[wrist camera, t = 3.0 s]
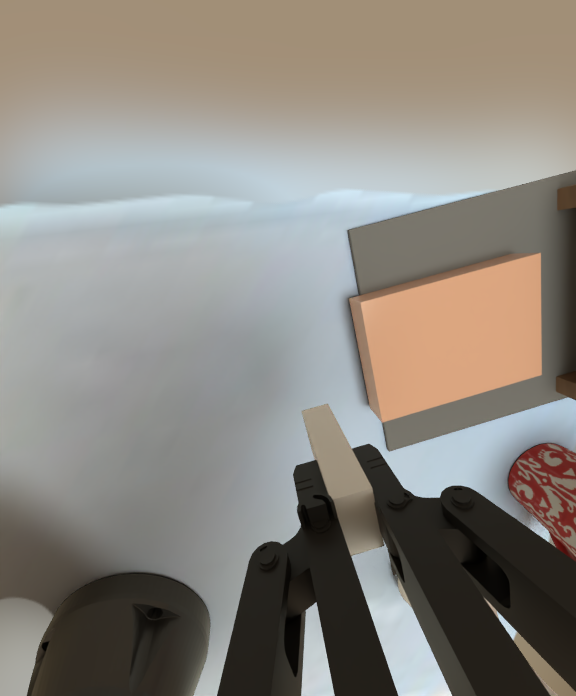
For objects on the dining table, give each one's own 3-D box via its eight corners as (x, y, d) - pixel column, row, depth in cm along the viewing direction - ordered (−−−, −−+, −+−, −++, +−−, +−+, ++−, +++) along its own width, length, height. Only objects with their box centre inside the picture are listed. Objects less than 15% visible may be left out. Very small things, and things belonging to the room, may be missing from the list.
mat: (387, 449, 30) (389, 451, 29) (347, 230, 24) (349, 229, 23) (653, 368, 31) (658, 369, 31) (677, 143, 25) (684, 141, 25)
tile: (370, 408, 28) (382, 422, 25) (349, 298, 25) (360, 302, 22) (515, 364, 28) (541, 374, 26) (512, 253, 25) (540, 252, 23)
